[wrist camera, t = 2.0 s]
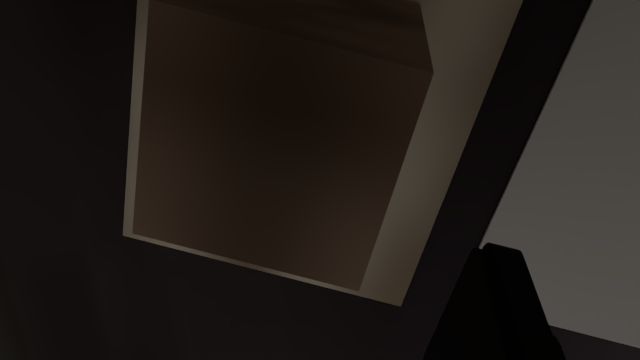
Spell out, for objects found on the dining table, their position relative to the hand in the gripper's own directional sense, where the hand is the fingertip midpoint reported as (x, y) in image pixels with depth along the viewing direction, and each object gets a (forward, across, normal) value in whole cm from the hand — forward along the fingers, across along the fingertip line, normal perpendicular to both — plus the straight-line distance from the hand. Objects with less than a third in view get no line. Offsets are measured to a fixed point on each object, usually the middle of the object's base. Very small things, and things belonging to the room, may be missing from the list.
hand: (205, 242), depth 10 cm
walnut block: (+10, -1, 0) cm, 10 cm away
